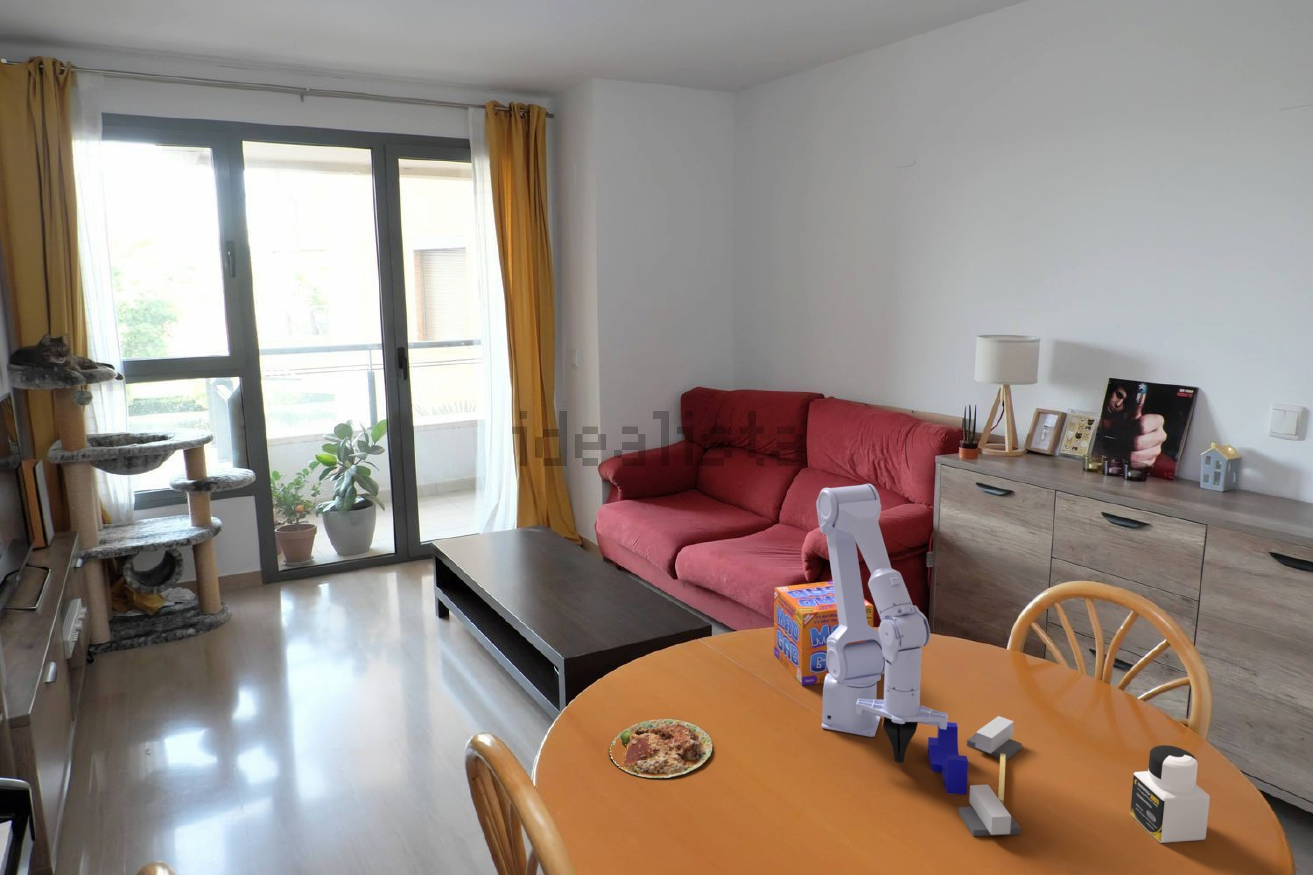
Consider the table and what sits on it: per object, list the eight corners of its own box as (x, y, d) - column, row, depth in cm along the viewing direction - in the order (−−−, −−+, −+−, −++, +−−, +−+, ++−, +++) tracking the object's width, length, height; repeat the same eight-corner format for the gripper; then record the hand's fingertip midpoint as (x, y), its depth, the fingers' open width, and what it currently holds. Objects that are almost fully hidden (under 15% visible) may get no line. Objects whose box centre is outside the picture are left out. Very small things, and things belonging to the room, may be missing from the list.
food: (687, 792, 140) (686, 775, 140) (593, 769, 148) (591, 753, 147) (727, 736, 156) (727, 721, 156) (640, 719, 164) (639, 704, 163)
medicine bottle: (1128, 814, 132) (1135, 741, 130) (1173, 810, 132) (1180, 738, 130) (1159, 844, 125) (1166, 767, 123) (1206, 840, 125) (1214, 764, 123)
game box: (839, 646, 193) (840, 579, 190) (872, 677, 178) (874, 604, 175) (773, 654, 189) (773, 586, 187) (801, 686, 175) (802, 613, 172)
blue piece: (927, 752, 150) (928, 720, 149) (954, 755, 149) (956, 722, 148) (936, 793, 138) (938, 758, 137) (966, 795, 138) (968, 760, 136)
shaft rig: (955, 833, 128) (957, 809, 127) (968, 730, 156) (969, 711, 156) (1020, 847, 125) (1021, 823, 124) (1021, 739, 153) (1022, 719, 152)
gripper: (853, 686, 143) (851, 762, 145) (946, 701, 137) (942, 780, 140) (860, 669, 149) (858, 742, 151) (949, 682, 143) (946, 758, 146)
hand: (899, 759), depth 146 cm, fingers closed
